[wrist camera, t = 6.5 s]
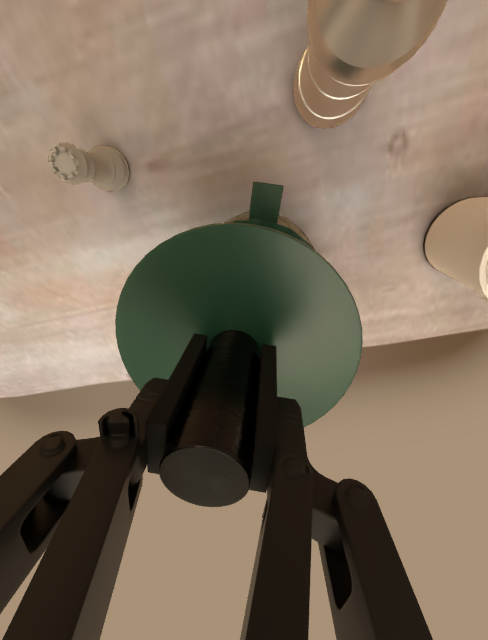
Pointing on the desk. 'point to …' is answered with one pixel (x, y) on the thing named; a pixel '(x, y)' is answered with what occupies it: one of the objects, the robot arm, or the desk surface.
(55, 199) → the desk surface
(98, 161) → the rook chess piece
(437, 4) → the silver metal bottle
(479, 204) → the mug
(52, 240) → the desk surface
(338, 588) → the robot arm
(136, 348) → the lid
